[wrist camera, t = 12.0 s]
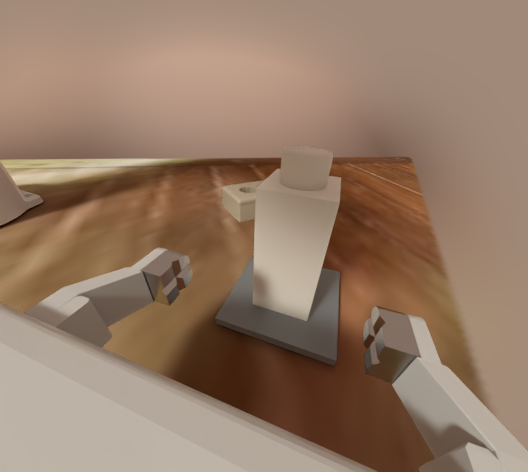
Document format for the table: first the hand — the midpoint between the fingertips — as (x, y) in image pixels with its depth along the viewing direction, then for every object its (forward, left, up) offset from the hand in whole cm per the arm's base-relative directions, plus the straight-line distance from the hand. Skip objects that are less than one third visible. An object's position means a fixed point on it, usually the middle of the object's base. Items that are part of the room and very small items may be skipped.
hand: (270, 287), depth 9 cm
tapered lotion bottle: (-2, +8, -9) cm, 12 cm away
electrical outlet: (-15, +26, -10) cm, 32 cm away
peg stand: (-2, +8, -10) cm, 12 cm away
